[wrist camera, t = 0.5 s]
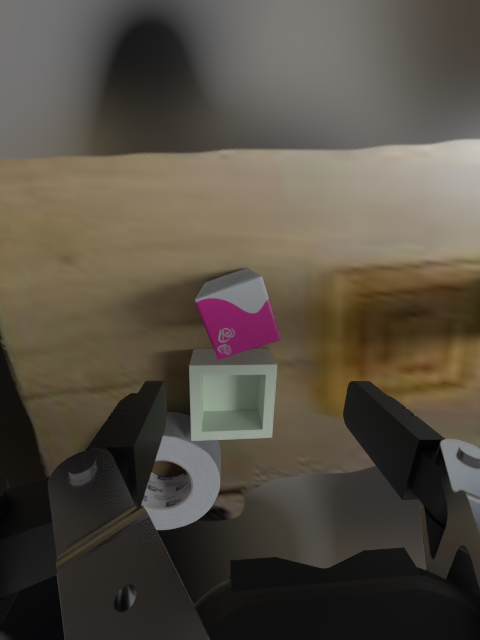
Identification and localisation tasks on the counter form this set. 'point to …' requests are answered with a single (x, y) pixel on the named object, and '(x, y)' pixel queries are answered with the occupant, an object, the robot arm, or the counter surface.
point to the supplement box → (237, 313)
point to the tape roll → (183, 476)
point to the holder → (232, 395)
